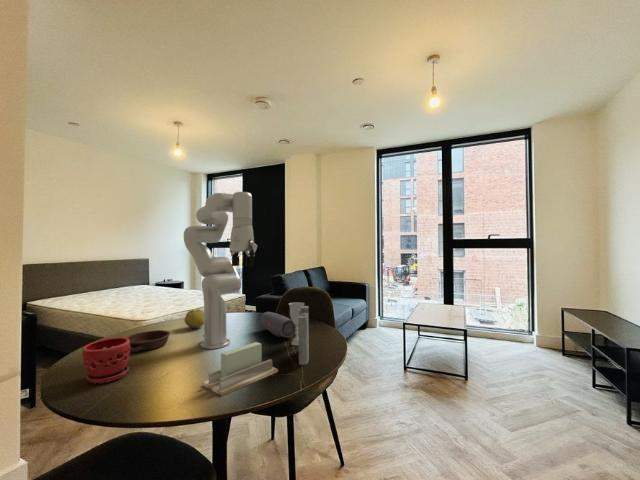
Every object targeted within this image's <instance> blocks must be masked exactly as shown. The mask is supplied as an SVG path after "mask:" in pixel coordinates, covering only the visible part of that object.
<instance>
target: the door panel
mask: <svg viewBox="0 0 640 480" xmlns="http://www.w3.org/2000/svg"><path fill="white" fill-rule="evenodd" d="M262 346H263V345H262V343H260V342H257V341H254V342H252V343H248V344H246V345H243V346H239V347H235V348H232V349H229V350H226V351H223V352H220V369H221V378H222V377H225V376H227V375H230V374H232V373H235V372H238V371H240V370H243V369H246V368H248V367H251V366H254V365H256V364H259V363H261V362H263V361H262V357H263V355H262V353H263V352H262V349H263V348H262Z"/></svg>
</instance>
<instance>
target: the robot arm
mask: <svg viewBox="0 0 640 480" xmlns="http://www.w3.org/2000/svg"><path fill="white" fill-rule="evenodd" d="M206 198H207V199H206V201H205V203H204V204H205V205H204V206H201V207H200V208H199V209H198V210H197V211H196V212H195V217H196V220H197V221H198V222H199V223H200V224H204V225H190V226H187V227H186V228H185V229H184V231H183V242H184V245H185V247H186V249H187V251H188V252H189V254H190V255H191V256H192V258H193V261H194V263H195V265H196V268H197V270H198V273H199V274H200V276H202V277H203V278H202V280H201V290H202V296H203V312H204V325H203V333H202V338H203V340H202V341H201V342H200V347H201V348H202V349H207V350H208V349H209V350H216V349H220V348H225V347H227V346H228V345H230V344H231V340H230V339H229V338H227V304H226V301H225V300H224V298H223V297H222V296H223V295H231V294H235V293H236V294H237V292H239V291H240V290H241V288H242V280H241V277H240V275H239V273H238V270H237V269H236V267H239V266H240V255H239V254H240V252H241V253H243V252H245V254H246V255H247V256H246V257H245V258H246V259H245V262H246V264H245V265H246V267H247V268H253V267H255V255H256V253H257V249H258V244H256V243H255V237H254V228H253V196H252V193H251V192H248V191H237V192H234V193H233V194H232V193H225V192H224V193H223V192H216V193H213V194H211V195H209V196H208V197H206ZM229 213H232V227H231V230H230V231H231V232H230V244H229V245H228V249H229V253H230V256H231V259H230V258H229V257H227V256H214V255H213V253H212V251H211V249H210V248H209V247H207V245H205V244H213V243H215V244H216V243H219V242H220V241H221V240H222V238H223V235H224V232H225V229H226V227H227V225H228V221H229ZM203 243H204V244H203Z"/></svg>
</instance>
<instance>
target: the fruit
mask: <svg viewBox="0 0 640 480" xmlns="http://www.w3.org/2000/svg"><path fill="white" fill-rule="evenodd" d="M184 323H185V325H186V326H187V327H189V328H191V329H199V328H201V327H203V326H204V310H202V309H199V308H198V309H197V308H196V309H191V310H189V311H187V313H186V314H185V317H184Z"/></svg>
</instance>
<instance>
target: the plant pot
mask: <svg viewBox="0 0 640 480" xmlns="http://www.w3.org/2000/svg"><path fill="white" fill-rule="evenodd" d="M103 348H104V349H103ZM130 354H131V353H130V340H129V339H128V338H127V337H110V338H105V339H101V340H97V341H93V342H91V343H88V344H86V345H85V346H84V347H82V359H83V360H82V361H83V364H84V368H85V371H86V372H87V374H88V375H87V377H86V379H87V381H88V382H89V383H90V384H96V383H99V384H106V383H111V382H110V381H112V382H114V381H116V379H117V380H119V379H121V378H123V377H124V376H126V374H127V373H128V372H129V366H128V365H127V364H128V363H129V360H130ZM113 380H114V381H113ZM105 382H106V383H105Z"/></svg>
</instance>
